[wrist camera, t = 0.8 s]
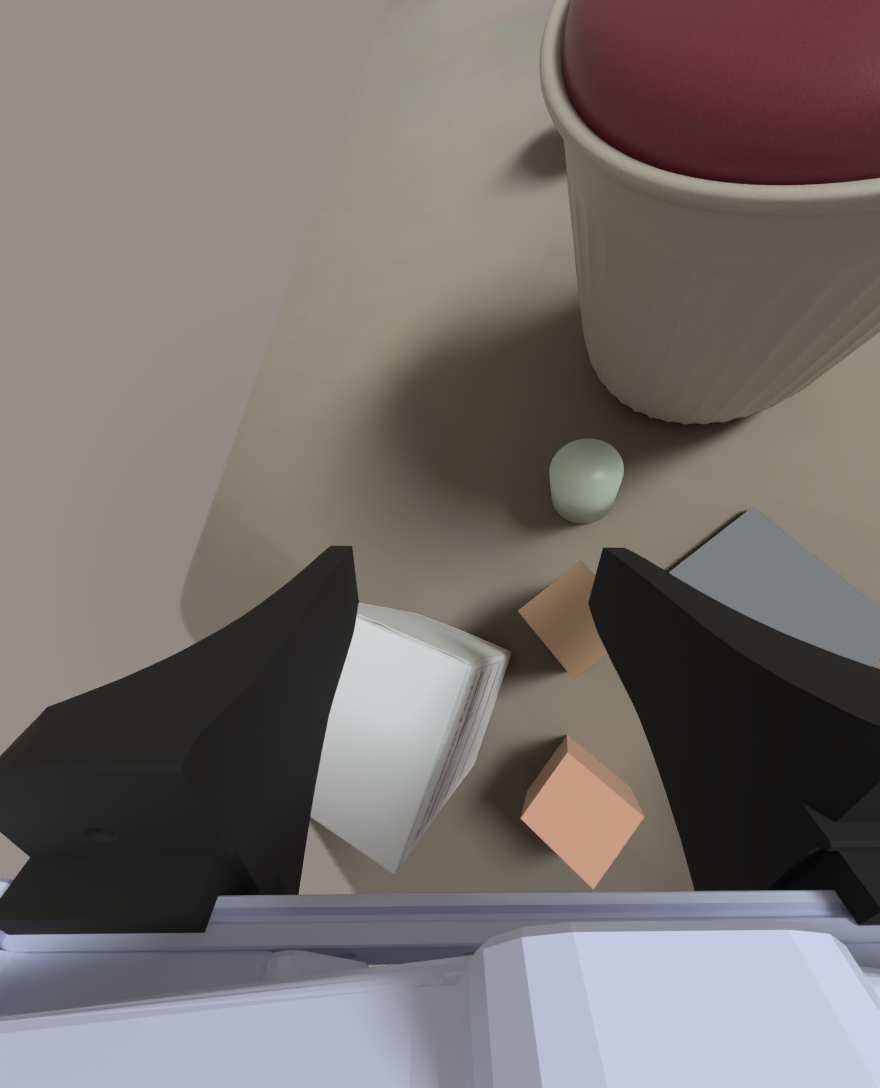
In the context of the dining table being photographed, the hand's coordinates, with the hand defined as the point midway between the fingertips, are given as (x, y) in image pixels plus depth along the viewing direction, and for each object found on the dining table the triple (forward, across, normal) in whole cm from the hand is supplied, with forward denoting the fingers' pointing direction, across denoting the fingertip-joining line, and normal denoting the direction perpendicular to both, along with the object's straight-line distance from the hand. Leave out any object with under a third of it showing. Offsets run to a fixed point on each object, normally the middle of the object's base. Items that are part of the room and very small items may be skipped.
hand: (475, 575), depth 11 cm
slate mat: (+7, -16, +8) cm, 19 cm away
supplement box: (+8, 0, +15) cm, 17 cm away
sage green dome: (+15, -9, +4) cm, 17 cm away
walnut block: (+9, -8, +10) cm, 15 cm away
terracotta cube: (+2, -7, +17) cm, 18 cm away
